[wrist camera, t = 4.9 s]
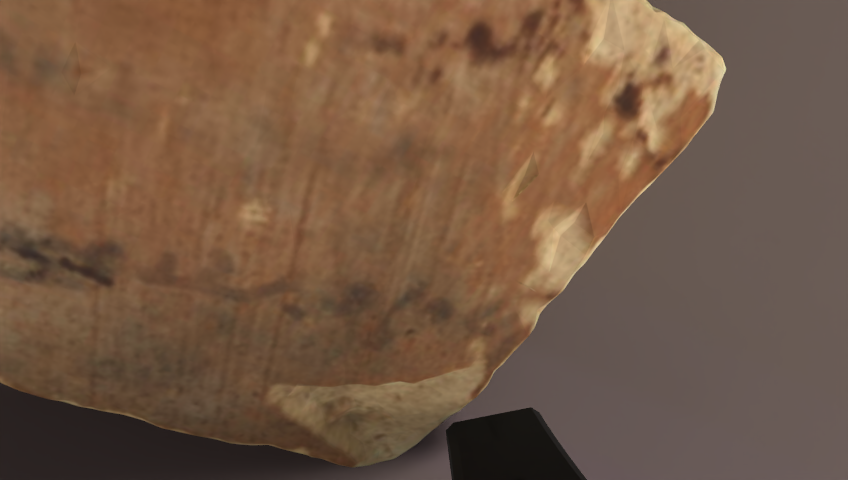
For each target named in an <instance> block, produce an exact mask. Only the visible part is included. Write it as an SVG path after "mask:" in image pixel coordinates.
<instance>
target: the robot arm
mask: <svg viewBox="0 0 848 480" xmlns="http://www.w3.org/2000/svg"><path fill="white" fill-rule="evenodd" d="M446 436H447V444H448V452H449V460H450V468H451V475H452V480H587V479H586V478H585V477H584V475H583V474H582V473H581V472H580V470H579V469H578V468H577V466H576V465H575V464H574V462H573V461H572V460H571V458H570V457H569V456H568V454H567V453H566V452H565V450H564V449H563V447H562V446H561V445H560V443H559V442H558V440H557V439H556V437H555V436H554V434H553V433H552V432H551V430H550V429H549V427H548V426H547V424H546V423H545V421H544V419H543V418H542V416H541V415H540V413H539V412H538V411H536V410H534V409H533V408H526V409H521V410H515V411H510V412H505V413H500V414H495V415H490V416H485V417H480V418H475V419H470V420H465V421H460V422H455V423H453V424H452V425H451V426H450V427H449V428H448V429H447V430H446Z"/></svg>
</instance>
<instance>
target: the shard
mask: <svg viewBox="0 0 848 480" xmlns="http://www.w3.org/2000/svg"><path fill="white" fill-rule="evenodd" d="M725 71H726V67H725V64H724V61H723V58H722V56H720V55H719V54H718V53H717V52H716V51H715V50H714V49H713V48H712V47H710V46H709V45H708V44H707V43H706V42H704V41H703V40H702V39H700V38H699V37H697V36H696V35H695V34H694V33H693V32H692V31H691V30H690V29H689V28H688V27H687V26H686V25H685V24H684V23H682V22H680V21H677V20H675V19H673V18H672V17H670V16H669V15H668V14H666V13H665V12H663V11H661V10H659V9H657V8H655V7H653V6H651V5H650V4H649V2H648V1H647V0H0V383H2V384H4V385H7V386H9V387H12V388H14V389H16V390H19V391H22V392H25V393H29V394H32V395H35V396H39V397H42V398H45V399H50V400H56V401H62V402H66V403H69V404H72V405H76V406H79V407H85V408H91V409H96V410H100V411H105V412H111V413H117V414H123V415H126V416H130V417H133V418H137V419H140V420H143V421H146V422H148V423H151V424H153V425H155V426H158V427H160V428H163V429H169V430H174V431H178V432H182V433H186V434H190V435H195V436H200V437H206V438H213V439H217V440H220V441H224V442H228V443H232V444H243V445H271V446H274V447H277V448H281V449H284V450H288V451H292V452H296V453H301V454H305V455H308V456H310V457H315V458H321V459H324V460H327V461H329V462H332V463H335V464H337V465H343V466H348V467H360V466H369V465H372V464H375V463H377V462H382V461H387V460H392V459H395V458H396V457H398V456H399V455H401V454H402V453H404V452H405V451H407V450H409V449H410V448H412V447H413V446H415V445H416V444H418V443H419V442H420V441H421V440H422V439H423V438H424V437H425V436H426V435H428V434H429V433H430V432H431V431H432V430H433V429H435V428H436V427H438V426H439V425H440V424H441V423H442V422H443V421H445V420H446V419H447V418H448V417H449V416H451V415H453V414H455V413H456V412H458V411H460V410H461V409H462V408H463V407H464V406H465V405H466V404H468V403H469V402H470V401H472V400H473V399H474V398H476V397H477V396H478V395H479V394H480V393H481V392H482V391H483V389H484V388H485V387H486V386H487V385H488V383H489V381H490V379H491V377H492V375H493V373H494V371H495V370H496V369H498V368H499V367H500V366H501V365H502V364H503V363H504V362H505V361H506V360H507V359H508V357H509V356H510V355H511V354H512V353H513V352H514V351H515V350H516V349H517V348H518V347H519V346H520V344H521V343H522V342H523V341H524V340H525V339H526V338H527V337H528V336H529V335H530V333H531V332H532V330H533V329H534V328H535V325H536V322H537V320H538V317H539V315H540V313H541V312H542V310H543V309H544V308H545V307H546V305H547V304H549V303H550V302H551V301H552V300H553V299H554V298H555V297H556V296H557V295H559V294H560V293H561V292H562V291H563V290H564V289H565V287H566V286H567V284H568V283H569V281H570V280H571V278H572V277H573V275H574V274H575V272H576V271H577V270H578V269H579V268H581V267H582V266H583V265H584V264H585V263H586V261H587V260H588V258H589V257H590V256H591V254H592V253H593V252H594V250H595V249H596V248H597V247H598V245H599V244H600V243H601V242H602V240H603V239H604V238H605V236H606V235H607V234H608V232H609V231H610V229H611V228H612V227H613V225H614V224H615V222H616V221H617V220H618V219H619V217H620V216H621V215H622V214H623V213H624V212H625V211H626V209H627V208H628V207H629V206H630V205H631V204H632V203H633V202H634V200H635V199H636V198H637V197H638V196H639V195H640V194H641V193H642V192H643V191H644V190H645V189H647V188H648V187H649V186H650V185H651V184H652V183H653V181H654V180H655V179H656V178H657V177H658V176H659V175H660V174H661V173H662V172H663V171H664V170H665V169H666V168H667V167H668V166H669V165H670V164H671V163H672V162H673V161H674V160H675V158H676V157H677V156H678V155H679V154H680V153H681V152H682V151H683V150H684V149H685V148H686V146H687V145H688V144H689V142H690V141H691V140H692V138H693V137H694V136H695V135H696V133H697V132H698V131H699V129H700V128H701V127H702V126H703V124H704V123H705V122H706V121H707V119H708V118H709V117H710V116H711V114H712V113H713V112H714V107H715V103H716V98H717V93H718V89H719V86H720V82H721V79H722V77H723V75H724V73H725Z"/></svg>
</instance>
